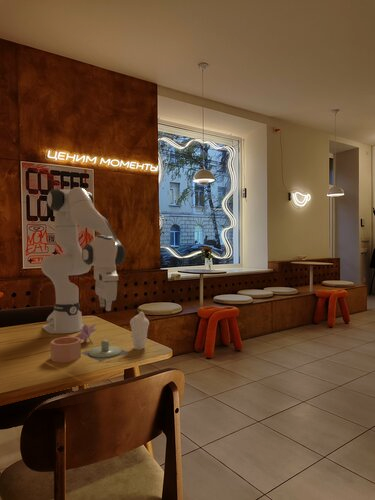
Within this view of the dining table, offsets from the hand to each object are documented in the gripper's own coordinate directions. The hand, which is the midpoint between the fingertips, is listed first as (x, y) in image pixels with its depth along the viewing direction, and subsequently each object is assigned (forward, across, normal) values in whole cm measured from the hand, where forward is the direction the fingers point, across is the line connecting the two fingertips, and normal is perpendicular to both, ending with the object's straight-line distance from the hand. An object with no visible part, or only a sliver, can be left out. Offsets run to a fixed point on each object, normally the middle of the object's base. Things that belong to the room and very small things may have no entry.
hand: (105, 308), depth 145 cm
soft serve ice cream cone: (+19, 0, +15) cm, 24 cm away
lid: (+18, 0, 0) cm, 18 cm away
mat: (+18, 0, 0) cm, 19 cm away
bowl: (+18, -1, -15) cm, 24 cm away
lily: (+19, -17, -4) cm, 26 cm away
